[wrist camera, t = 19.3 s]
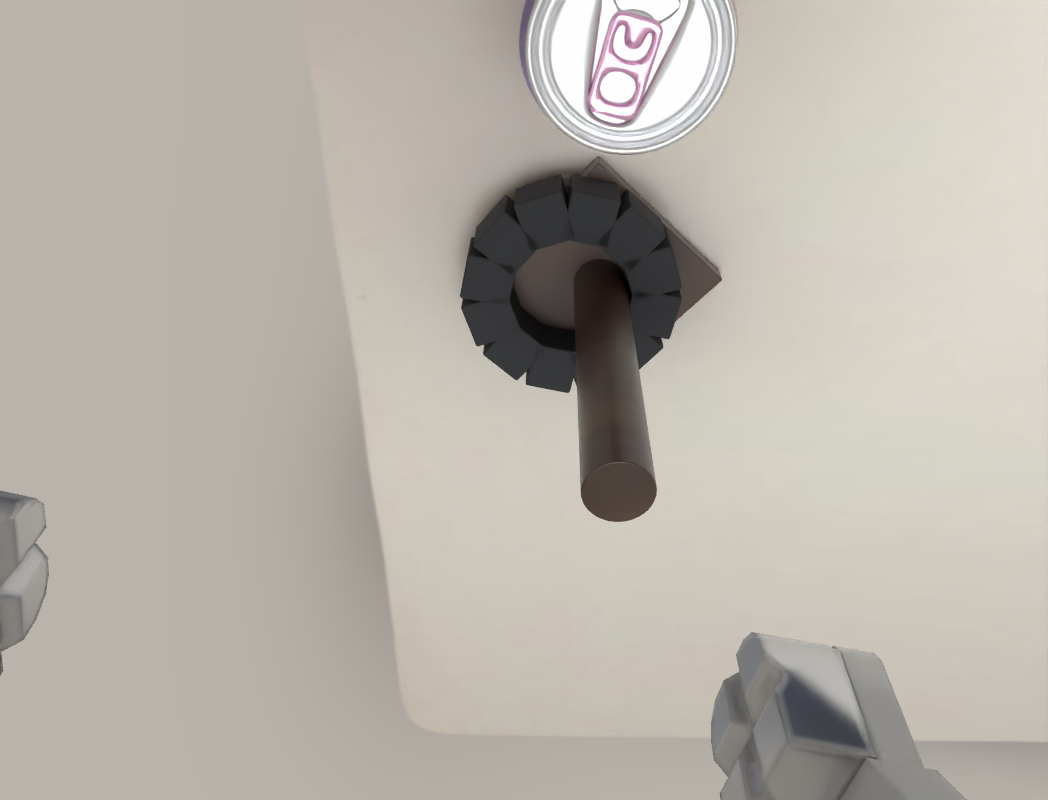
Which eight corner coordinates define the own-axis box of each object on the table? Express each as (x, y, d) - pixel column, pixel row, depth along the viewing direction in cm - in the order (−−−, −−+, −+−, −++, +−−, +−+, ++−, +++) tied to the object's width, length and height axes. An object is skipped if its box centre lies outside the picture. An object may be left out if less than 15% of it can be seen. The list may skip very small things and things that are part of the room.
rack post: (478, 277, 45) (441, 495, 30) (598, 155, 42) (620, 333, 27) (598, 378, 47) (617, 623, 33) (719, 271, 44) (799, 489, 30)
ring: (423, 284, 44) (417, 304, 42) (564, 130, 40) (565, 145, 38) (574, 403, 47) (575, 427, 45) (719, 271, 43) (726, 292, 41)
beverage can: (515, 29, 39) (493, 130, 26) (555, -132, 36) (552, -106, 23) (652, 69, 40) (697, 186, 27) (703, -86, 37) (781, -36, 24)
